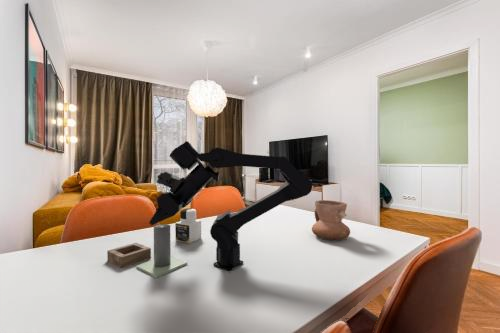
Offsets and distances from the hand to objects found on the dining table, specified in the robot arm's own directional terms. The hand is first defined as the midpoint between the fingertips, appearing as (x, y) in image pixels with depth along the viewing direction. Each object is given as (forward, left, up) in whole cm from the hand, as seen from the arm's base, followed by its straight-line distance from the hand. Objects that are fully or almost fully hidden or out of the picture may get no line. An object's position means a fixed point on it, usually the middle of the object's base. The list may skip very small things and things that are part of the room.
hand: (156, 219), depth 67 cm
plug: (-1, -1, -13) cm, 13 cm away
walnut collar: (+12, +2, -13) cm, 18 cm away
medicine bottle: (+12, -21, -14) cm, 28 cm away
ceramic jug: (-32, -56, -14) cm, 66 cm away
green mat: (-1, -1, -13) cm, 14 cm away
